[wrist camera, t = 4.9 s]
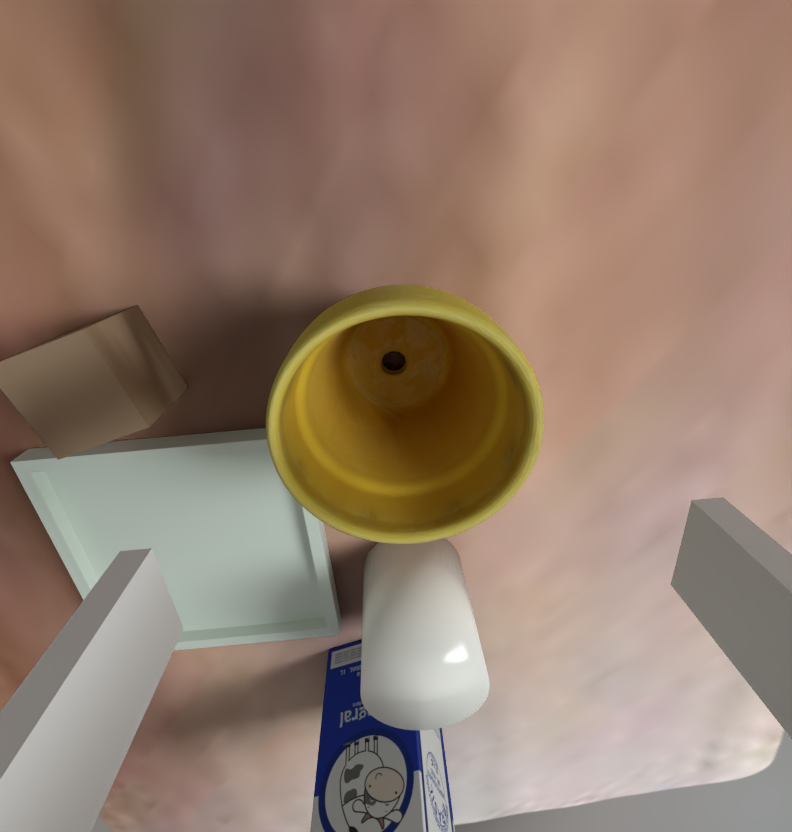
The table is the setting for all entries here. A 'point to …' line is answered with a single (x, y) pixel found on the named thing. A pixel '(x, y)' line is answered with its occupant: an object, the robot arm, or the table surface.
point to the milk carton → (374, 764)
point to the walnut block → (93, 383)
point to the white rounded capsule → (419, 638)
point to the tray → (193, 531)
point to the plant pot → (404, 416)
